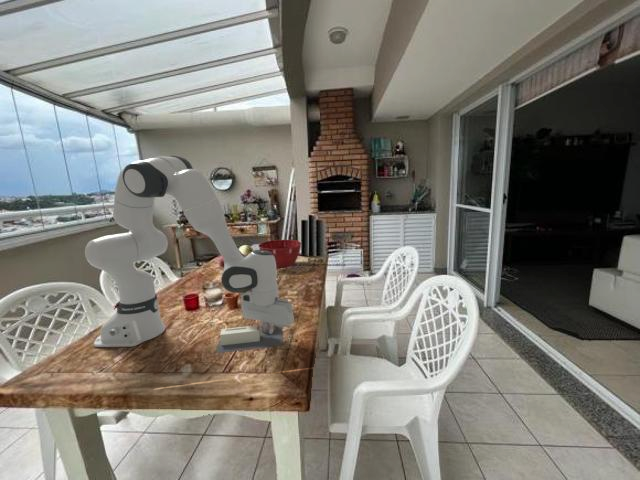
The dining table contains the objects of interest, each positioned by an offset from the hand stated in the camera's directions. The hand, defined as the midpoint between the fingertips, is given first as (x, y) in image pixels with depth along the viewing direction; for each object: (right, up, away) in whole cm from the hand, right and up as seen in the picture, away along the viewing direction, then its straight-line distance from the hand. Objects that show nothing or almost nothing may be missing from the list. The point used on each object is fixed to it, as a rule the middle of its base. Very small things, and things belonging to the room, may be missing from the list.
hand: (268, 332), depth 102 cm
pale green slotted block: (-10, -2, -1) cm, 10 cm away
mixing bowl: (-8, +15, +91) cm, 93 cm away
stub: (-1, -1, +6) cm, 7 cm away
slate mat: (-6, -2, +1) cm, 7 cm away
